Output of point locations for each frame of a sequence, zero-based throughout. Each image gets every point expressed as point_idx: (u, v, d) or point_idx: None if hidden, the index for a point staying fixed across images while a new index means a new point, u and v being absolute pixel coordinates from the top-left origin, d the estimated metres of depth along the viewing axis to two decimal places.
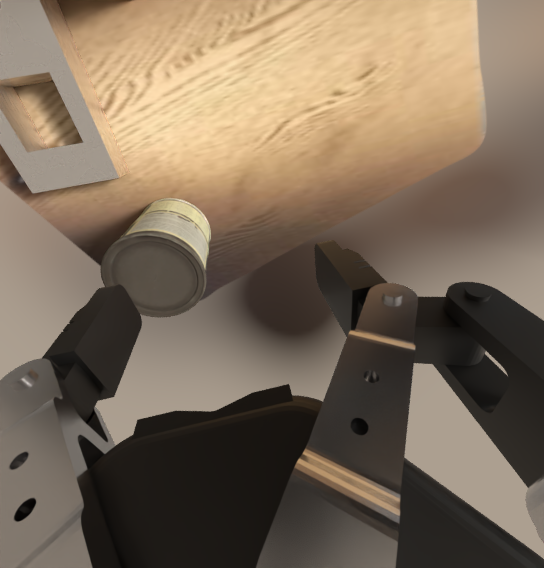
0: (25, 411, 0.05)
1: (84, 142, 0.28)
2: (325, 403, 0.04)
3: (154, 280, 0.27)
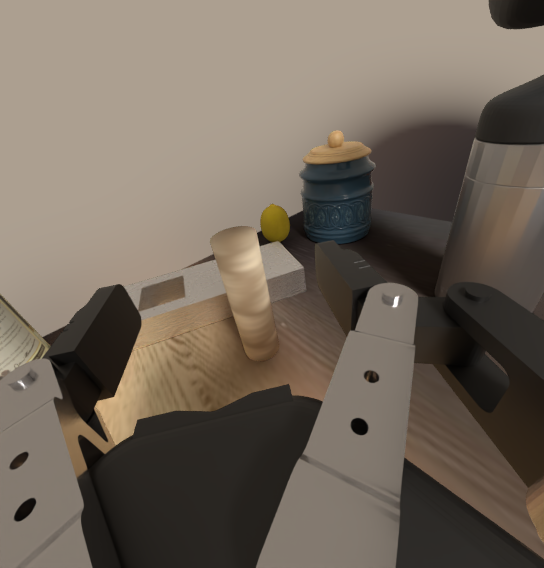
0: (25, 411, 0.05)
1: None
2: (325, 403, 0.04)
3: None
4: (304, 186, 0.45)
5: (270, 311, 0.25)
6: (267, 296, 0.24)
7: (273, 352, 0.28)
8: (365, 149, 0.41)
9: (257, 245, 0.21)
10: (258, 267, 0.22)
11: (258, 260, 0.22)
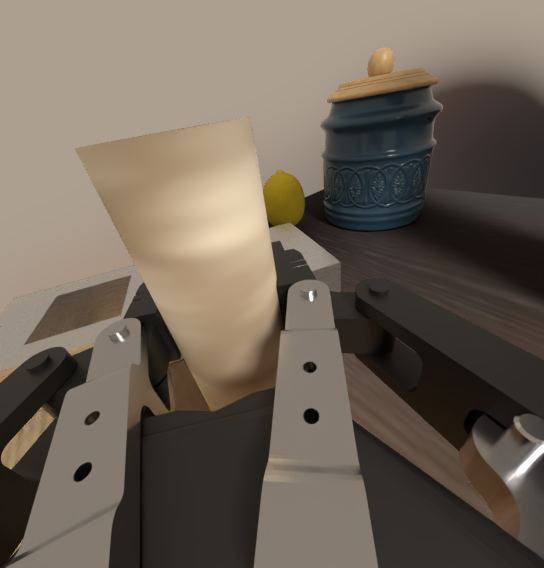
0: (112, 365, 0.06)
1: (22, 346, 0.16)
2: (325, 403, 0.04)
3: None
4: (328, 142, 0.30)
5: None
6: (281, 330, 0.09)
7: None
8: (431, 75, 0.25)
9: (253, 164, 0.06)
10: (257, 245, 0.07)
11: (256, 221, 0.06)
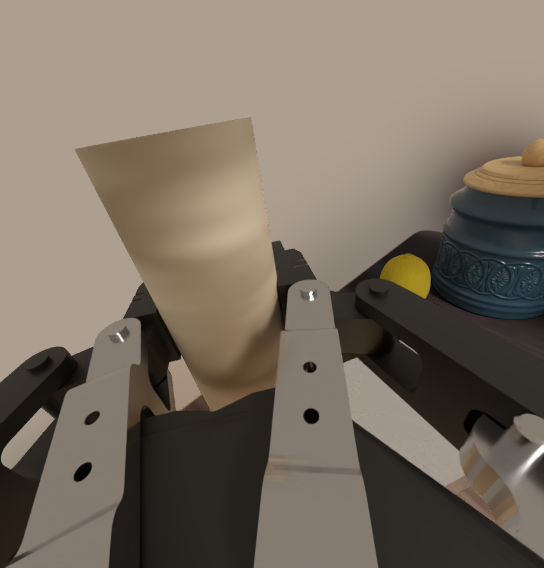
0: (112, 365, 0.06)
1: None
2: (325, 403, 0.04)
3: None
4: (466, 227, 0.28)
5: None
6: None
7: None
8: None
9: (254, 165, 0.06)
10: (258, 245, 0.07)
11: (256, 222, 0.06)
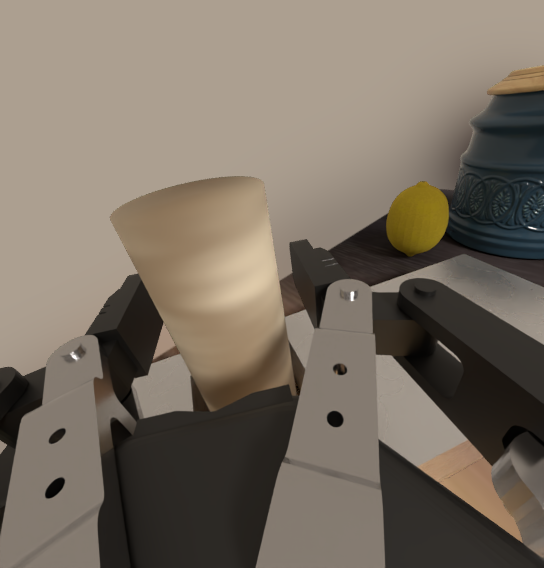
0: (71, 384, 0.06)
1: None
2: (325, 403, 0.04)
3: None
4: (492, 146, 0.23)
5: (292, 390, 0.11)
6: (287, 361, 0.10)
7: None
8: None
9: (266, 226, 0.07)
10: (268, 293, 0.07)
11: (268, 274, 0.07)
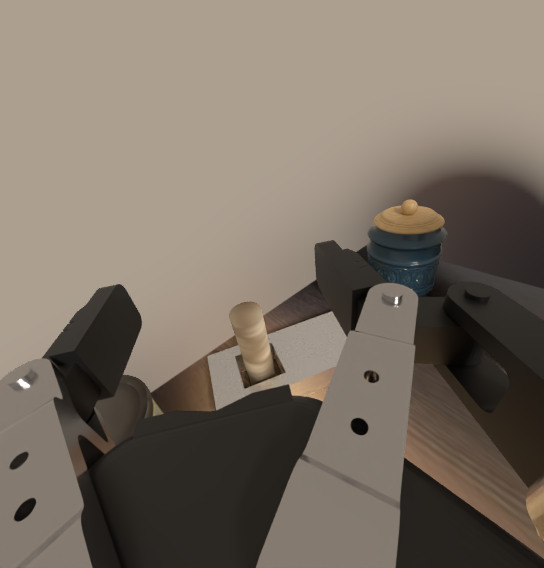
0: (25, 411, 0.05)
1: (244, 389, 0.34)
2: (325, 403, 0.04)
3: None
4: (374, 247, 0.47)
5: (270, 358, 0.35)
6: (268, 349, 0.34)
7: None
8: (440, 219, 0.43)
9: (262, 318, 0.31)
10: (262, 332, 0.32)
11: (262, 328, 0.31)
